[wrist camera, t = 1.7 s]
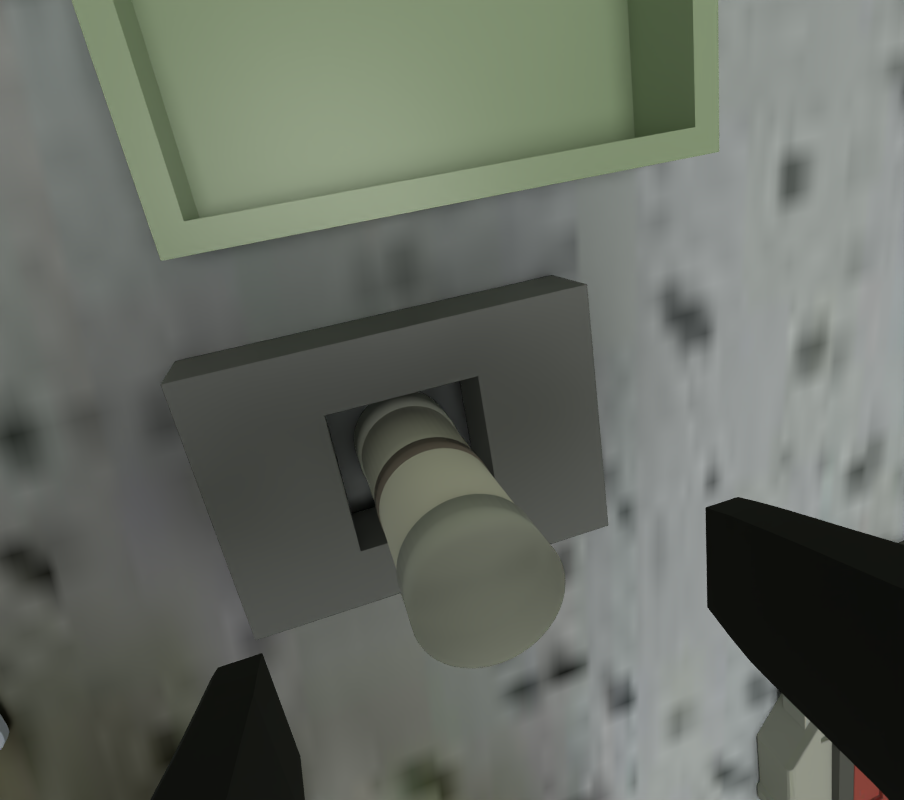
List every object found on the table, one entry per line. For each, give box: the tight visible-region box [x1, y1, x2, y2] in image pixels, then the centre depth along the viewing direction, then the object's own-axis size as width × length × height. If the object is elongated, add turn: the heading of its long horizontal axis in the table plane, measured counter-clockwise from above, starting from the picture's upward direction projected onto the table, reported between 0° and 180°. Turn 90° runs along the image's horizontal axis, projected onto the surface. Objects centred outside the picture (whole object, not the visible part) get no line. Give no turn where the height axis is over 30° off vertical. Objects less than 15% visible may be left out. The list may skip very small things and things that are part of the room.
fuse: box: [354, 392, 565, 668], centre depth 13 cm, size 3×3×8 cm
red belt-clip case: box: [757, 541, 904, 800], centre depth 25 cm, size 9×4×20 cm
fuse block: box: [161, 275, 608, 640], centre depth 16 cm, size 10×7×2 cm
